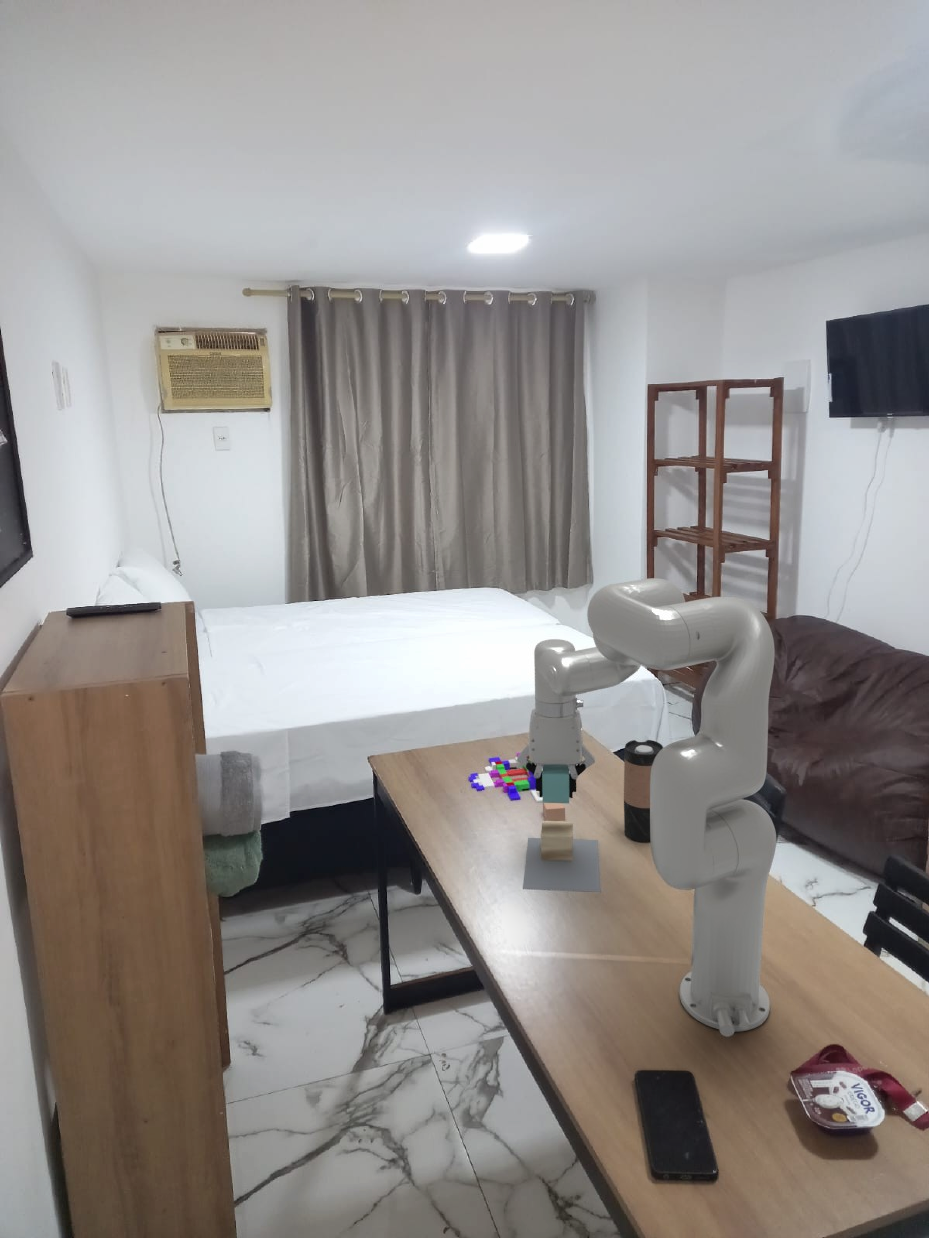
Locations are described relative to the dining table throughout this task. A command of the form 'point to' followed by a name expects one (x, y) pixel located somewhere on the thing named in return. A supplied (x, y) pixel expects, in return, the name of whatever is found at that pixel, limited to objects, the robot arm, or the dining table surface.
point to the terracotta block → (554, 811)
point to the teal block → (555, 783)
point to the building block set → (506, 778)
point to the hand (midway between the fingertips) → (556, 793)
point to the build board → (563, 868)
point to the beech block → (557, 840)
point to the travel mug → (638, 788)
